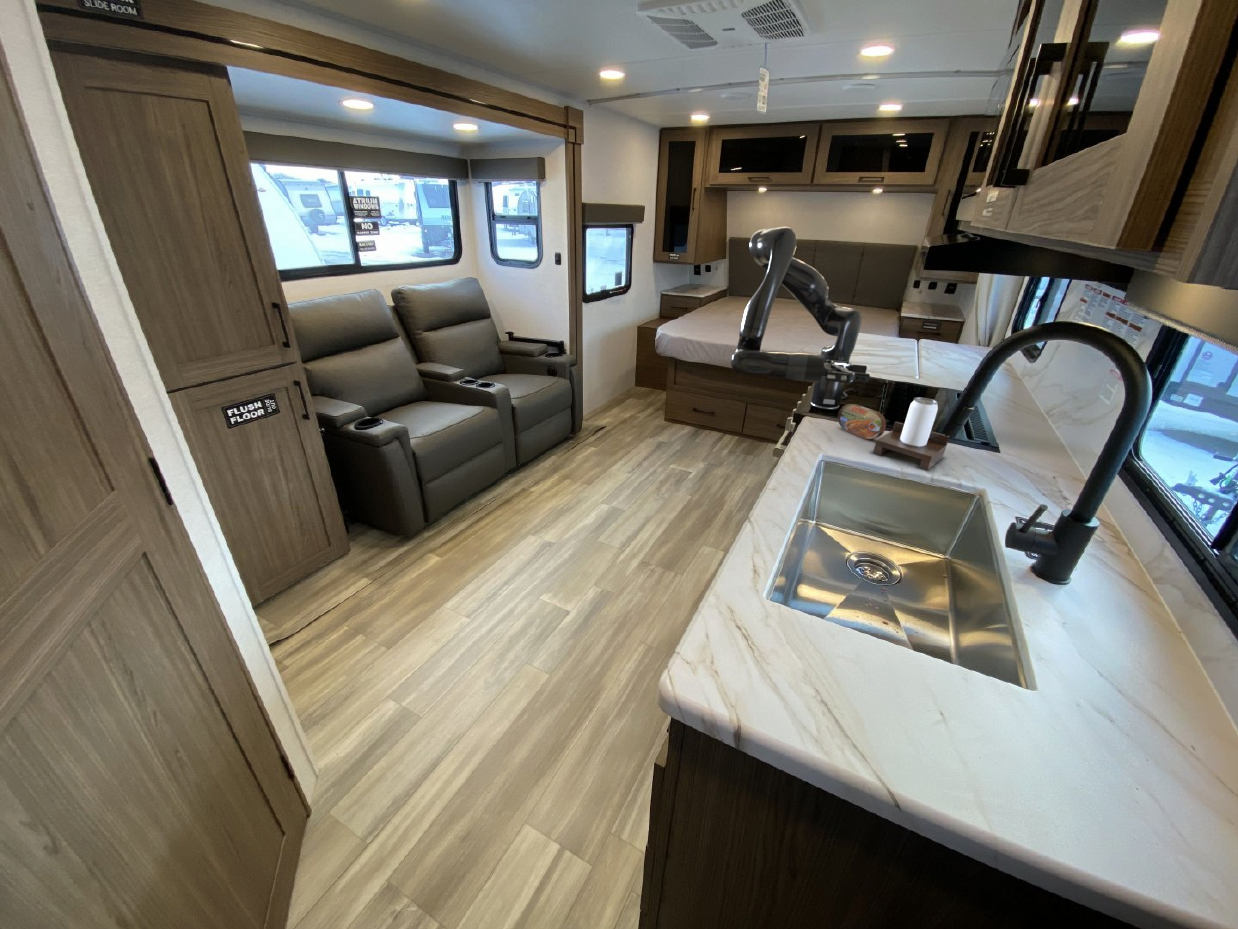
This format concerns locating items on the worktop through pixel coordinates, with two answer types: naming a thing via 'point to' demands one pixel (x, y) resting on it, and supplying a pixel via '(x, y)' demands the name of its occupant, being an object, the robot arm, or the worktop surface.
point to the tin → (861, 421)
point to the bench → (927, 453)
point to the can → (919, 422)
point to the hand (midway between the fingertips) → (867, 373)
